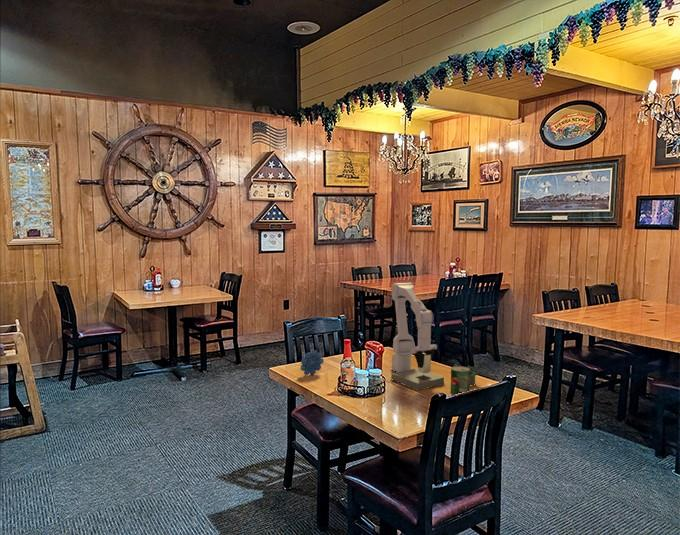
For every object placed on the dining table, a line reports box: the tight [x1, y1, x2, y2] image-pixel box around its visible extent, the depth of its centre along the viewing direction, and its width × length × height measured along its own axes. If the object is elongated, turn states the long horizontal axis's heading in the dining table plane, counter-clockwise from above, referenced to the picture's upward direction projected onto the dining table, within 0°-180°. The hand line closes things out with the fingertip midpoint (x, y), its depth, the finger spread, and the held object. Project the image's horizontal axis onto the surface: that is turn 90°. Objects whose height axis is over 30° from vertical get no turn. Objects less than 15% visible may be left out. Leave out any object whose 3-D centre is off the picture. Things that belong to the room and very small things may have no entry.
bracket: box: [453, 363, 479, 387], centre depth 229 cm, size 9×9×9 cm
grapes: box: [300, 350, 325, 376], centre depth 242 cm, size 12×7×12 cm, turn 109°
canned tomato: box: [450, 365, 471, 396], centre depth 215 cm, size 8×8×11 cm
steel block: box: [417, 352, 432, 373], centre depth 227 cm, size 4×4×8 cm
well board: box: [390, 367, 445, 391], centre depth 231 cm, size 18×16×3 cm
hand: (423, 366), depth 227 cm, fingers closed on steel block, 4 cm apart
